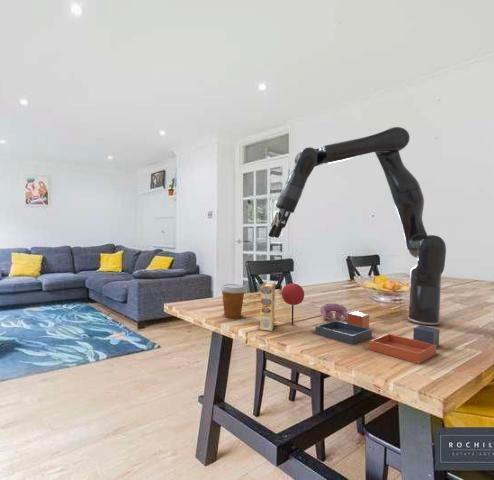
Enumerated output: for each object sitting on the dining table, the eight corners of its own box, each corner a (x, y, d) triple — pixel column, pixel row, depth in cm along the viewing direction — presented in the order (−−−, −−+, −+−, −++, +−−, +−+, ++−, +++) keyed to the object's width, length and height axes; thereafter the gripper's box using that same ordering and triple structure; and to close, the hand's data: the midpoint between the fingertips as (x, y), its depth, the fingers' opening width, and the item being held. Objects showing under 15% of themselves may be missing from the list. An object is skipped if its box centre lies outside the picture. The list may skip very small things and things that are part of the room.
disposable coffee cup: (218, 313, 134) (218, 283, 133) (241, 313, 135) (241, 283, 134) (223, 319, 124) (224, 288, 124) (248, 319, 125) (248, 288, 125)
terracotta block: (354, 325, 120) (355, 311, 120) (369, 328, 116) (369, 314, 116) (347, 327, 117) (347, 313, 117) (362, 331, 113) (362, 316, 113)
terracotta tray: (388, 341, 102) (388, 333, 102) (436, 354, 92) (436, 345, 92) (369, 349, 95) (369, 340, 95) (418, 363, 85) (419, 354, 85)
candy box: (272, 331, 111) (273, 286, 110) (259, 329, 112) (260, 285, 112) (274, 324, 119) (275, 282, 118) (262, 323, 120) (263, 281, 120)
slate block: (419, 340, 103) (420, 325, 103) (438, 345, 99) (439, 329, 99) (412, 343, 101) (413, 327, 100) (432, 348, 96) (433, 332, 96)
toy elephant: (346, 322, 128) (343, 305, 131) (351, 320, 124) (348, 302, 127) (320, 321, 129) (318, 304, 132) (324, 319, 125) (321, 301, 128)
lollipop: (303, 323, 121) (304, 282, 121) (303, 329, 114) (305, 285, 113) (281, 321, 124) (282, 281, 123) (280, 326, 116) (281, 284, 116)
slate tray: (335, 327, 116) (335, 320, 116) (371, 337, 106) (372, 329, 106) (315, 333, 109) (315, 325, 109) (352, 344, 99) (352, 335, 99)
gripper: (304, 200, 120) (286, 241, 121) (293, 203, 134) (278, 240, 135) (284, 192, 121) (267, 233, 122) (276, 196, 135) (260, 233, 136)
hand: (273, 237), depth 129 cm, fingers open, 8 cm apart
